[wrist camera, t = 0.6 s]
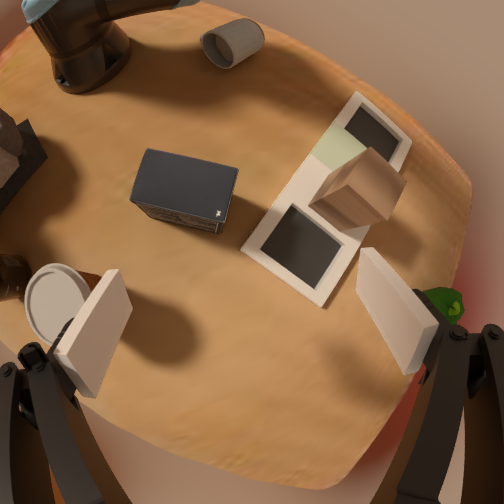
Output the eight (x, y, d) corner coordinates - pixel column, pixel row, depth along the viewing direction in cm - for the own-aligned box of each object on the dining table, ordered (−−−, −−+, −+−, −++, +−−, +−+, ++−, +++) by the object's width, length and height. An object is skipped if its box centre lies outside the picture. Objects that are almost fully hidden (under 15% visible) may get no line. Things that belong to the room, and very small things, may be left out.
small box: (232, 190, 38) (242, 166, 28) (221, 235, 38) (226, 226, 28) (160, 173, 37) (146, 144, 27) (147, 217, 36) (127, 202, 26)
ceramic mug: (263, 55, 40) (272, 26, 32) (231, 77, 39) (236, 47, 31) (221, 28, 39) (224, 0, 32) (188, 48, 38) (187, 18, 30)
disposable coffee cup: (136, 302, 36) (107, 319, 24) (93, 340, 34) (56, 367, 23) (96, 248, 35) (55, 244, 23) (56, 289, 34) (10, 298, 22)
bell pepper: (440, 315, 44) (477, 322, 34) (412, 336, 43) (449, 349, 33) (432, 276, 44) (471, 278, 34) (403, 295, 43) (443, 302, 33)
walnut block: (339, 231, 39) (387, 220, 27) (307, 205, 39) (347, 184, 27) (357, 200, 40) (406, 181, 28) (328, 175, 39) (370, 146, 27)
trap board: (317, 306, 40) (321, 307, 38) (239, 250, 38) (240, 249, 37) (408, 144, 44) (412, 141, 43) (352, 94, 42) (356, 90, 41)
